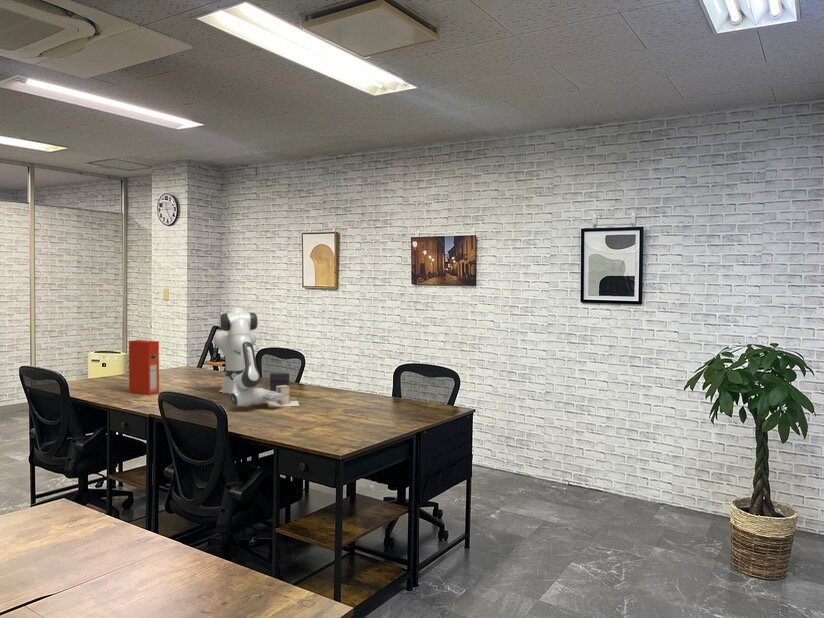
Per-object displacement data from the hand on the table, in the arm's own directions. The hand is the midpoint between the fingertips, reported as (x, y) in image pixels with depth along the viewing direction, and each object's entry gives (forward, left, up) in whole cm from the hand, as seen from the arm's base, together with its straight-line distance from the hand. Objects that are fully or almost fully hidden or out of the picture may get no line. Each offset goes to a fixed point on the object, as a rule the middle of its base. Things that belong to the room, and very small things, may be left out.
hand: (280, 393), depth 362 cm
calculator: (-21, 0, -7) cm, 22 cm away
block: (-1, +1, -6) cm, 6 cm away
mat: (-1, +1, -7) cm, 7 cm away
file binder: (-49, -81, -7) cm, 95 cm away
